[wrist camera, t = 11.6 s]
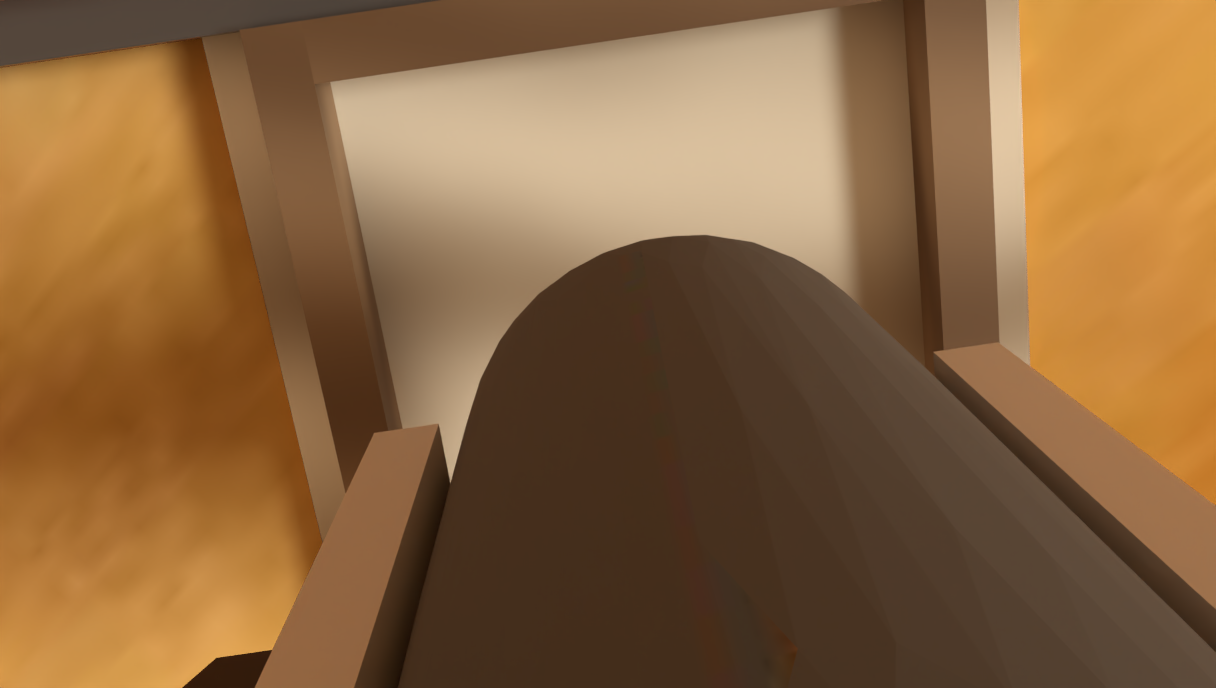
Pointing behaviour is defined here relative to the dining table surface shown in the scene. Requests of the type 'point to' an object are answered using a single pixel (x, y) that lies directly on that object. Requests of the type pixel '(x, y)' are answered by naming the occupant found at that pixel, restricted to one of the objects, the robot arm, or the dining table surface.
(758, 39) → the frame
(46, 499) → the dining table surface
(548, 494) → the cork-lidded jar
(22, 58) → the ink pad
